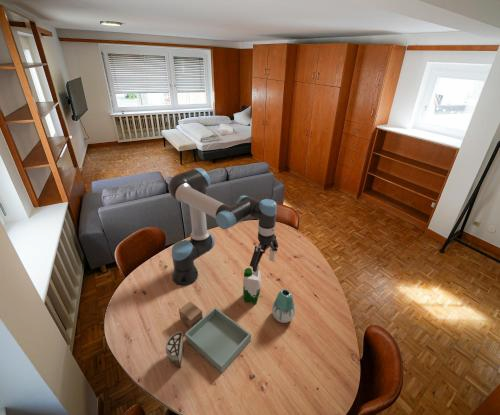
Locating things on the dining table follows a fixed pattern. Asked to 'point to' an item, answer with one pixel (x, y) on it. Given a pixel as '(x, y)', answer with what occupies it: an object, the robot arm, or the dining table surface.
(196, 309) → the walnut block
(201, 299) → the dining table surface
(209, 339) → the tote
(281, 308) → the vase
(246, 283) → the milk carton
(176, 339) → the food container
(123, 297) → the dining table surface
